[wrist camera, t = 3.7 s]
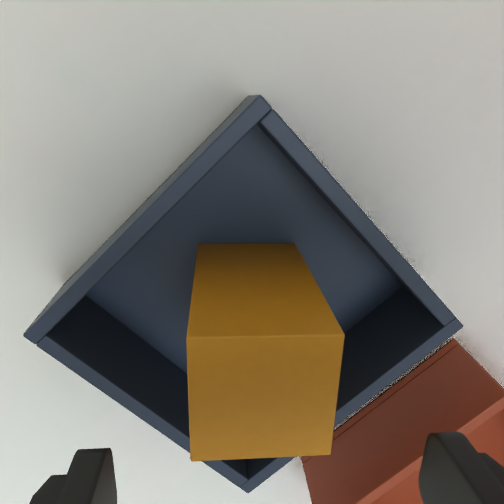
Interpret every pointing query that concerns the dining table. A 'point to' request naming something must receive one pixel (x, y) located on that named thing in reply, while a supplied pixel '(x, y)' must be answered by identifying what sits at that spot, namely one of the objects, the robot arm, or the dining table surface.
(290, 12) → the dining table surface
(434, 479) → the robot arm
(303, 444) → the mustard box
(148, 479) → the dining table surface
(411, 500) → the terracotta bin
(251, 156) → the slate bin
